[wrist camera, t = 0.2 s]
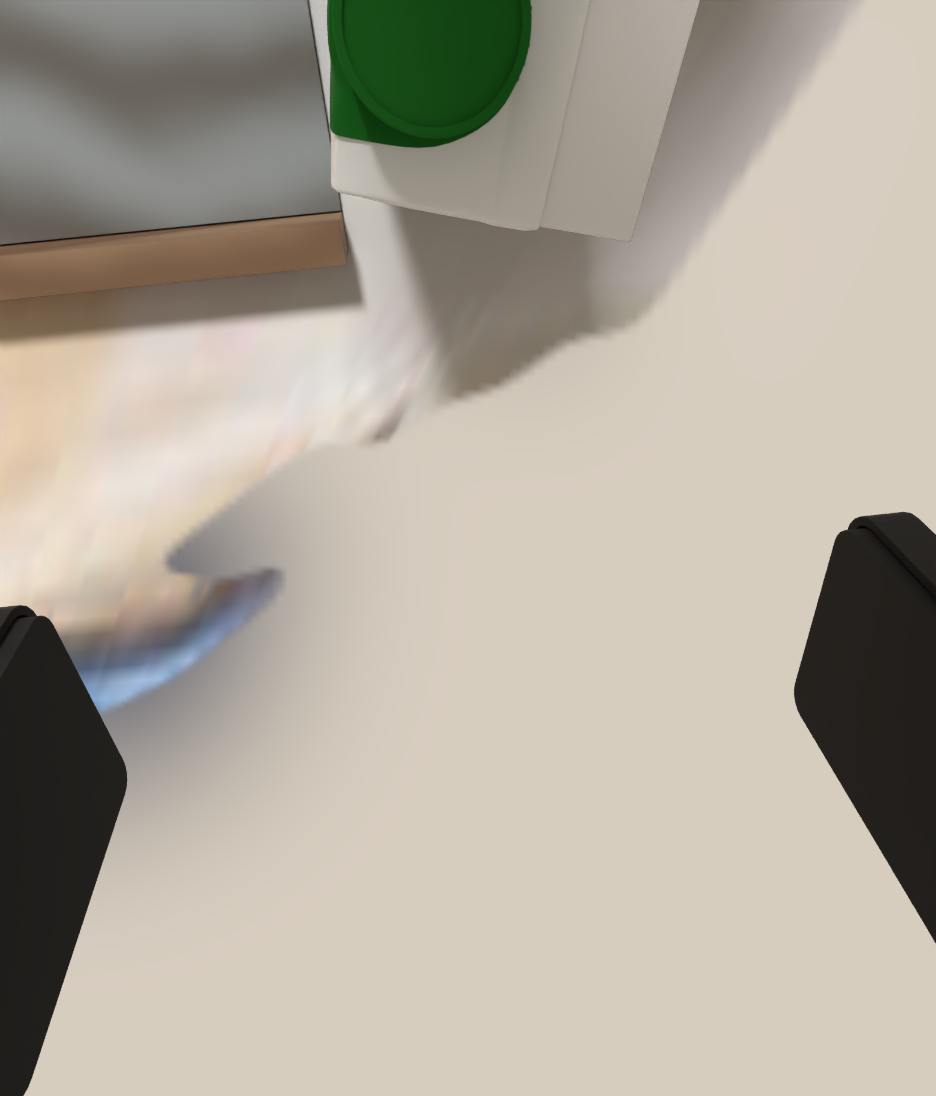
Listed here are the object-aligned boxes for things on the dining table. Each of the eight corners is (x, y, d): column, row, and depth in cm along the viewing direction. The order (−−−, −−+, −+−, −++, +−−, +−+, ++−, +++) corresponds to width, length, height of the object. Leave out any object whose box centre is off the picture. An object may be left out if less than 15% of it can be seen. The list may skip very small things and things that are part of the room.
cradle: (-257, -199, 26) (-312, -218, 24) (268, -241, 26) (259, -262, 24) (-32, 289, 35) (-57, 306, 33) (347, 251, 36) (345, 265, 34)
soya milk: (358, -136, 28) (327, -340, 12) (588, -78, 30) (836, -188, 13) (339, 127, 33) (298, 236, 17) (537, 164, 35) (674, 297, 18)
